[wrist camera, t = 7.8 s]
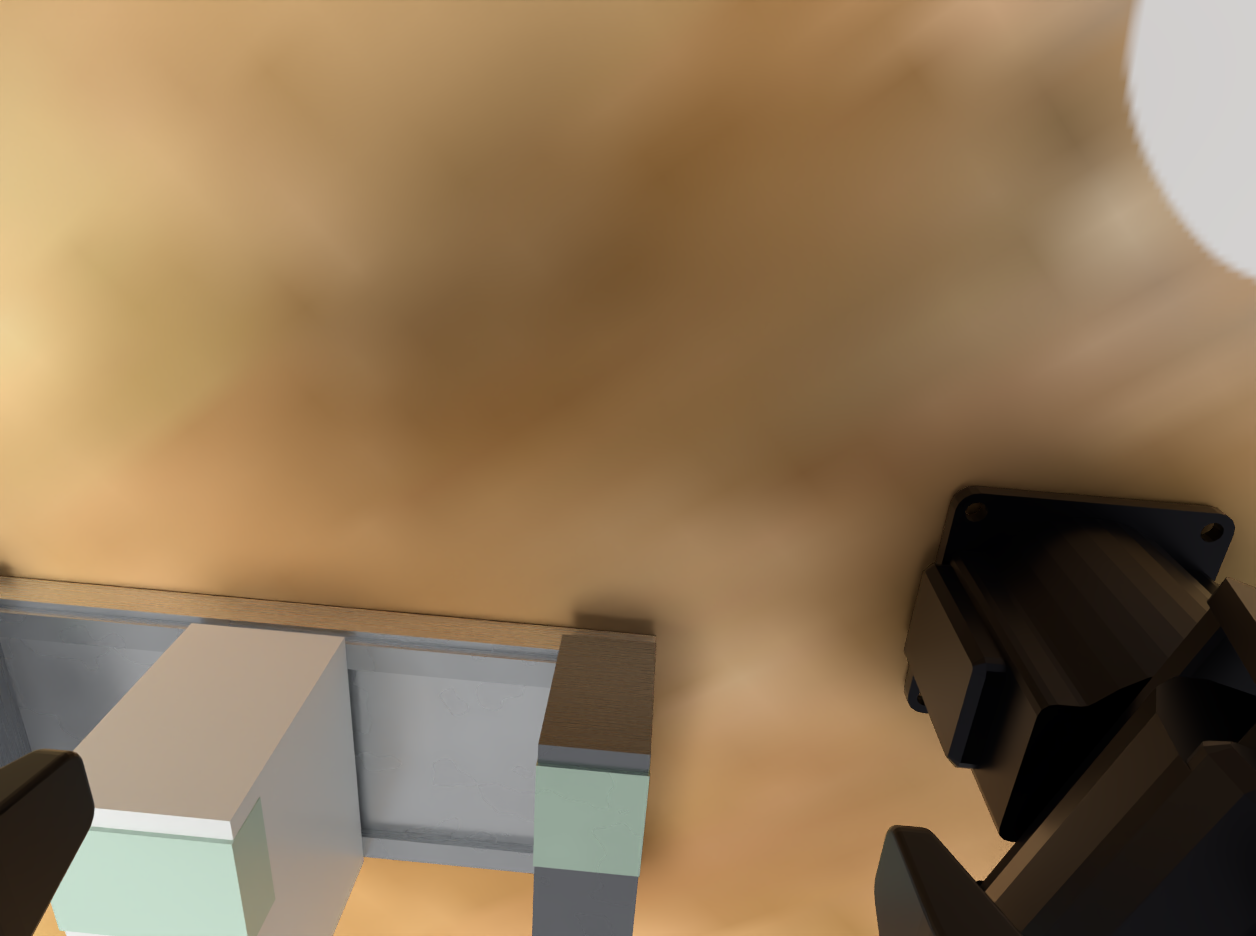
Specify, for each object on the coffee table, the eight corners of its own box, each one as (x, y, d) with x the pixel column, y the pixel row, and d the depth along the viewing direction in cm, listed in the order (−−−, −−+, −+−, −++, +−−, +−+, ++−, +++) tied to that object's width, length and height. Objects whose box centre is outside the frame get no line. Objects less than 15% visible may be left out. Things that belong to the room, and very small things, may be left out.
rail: (657, 620, 22) (651, 758, 18) (633, 863, 26) (623, 1030, 21) (-77, 553, 23) (-271, 671, 18) (2, 801, 27) (-143, 951, 22)
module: (345, 637, 22) (227, 827, 16) (364, 861, 25) (271, 1085, 19) (190, 622, 22) (19, 807, 16) (229, 847, 25) (98, 1066, 19)
